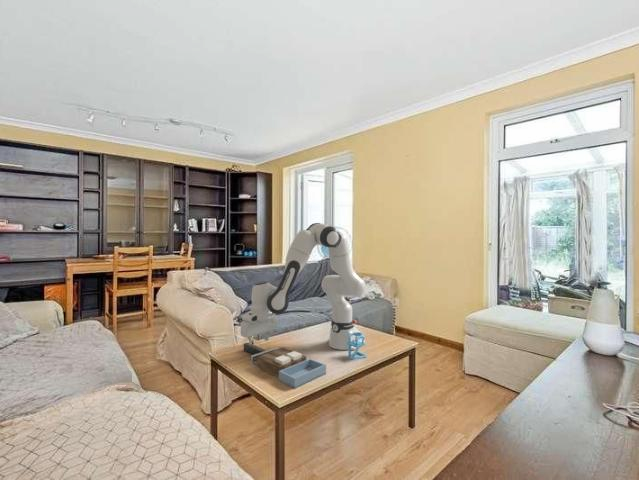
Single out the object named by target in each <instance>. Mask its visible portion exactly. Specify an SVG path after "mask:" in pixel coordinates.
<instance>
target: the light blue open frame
mask: <svg viewBox="0 0 639 480" xmlns="http://www.w3.org/2000/svg"><path fill="white" fill-rule="evenodd" d="M352 335H355V336H356V337H355V340H354V341H351V339H350V337H351V336H352ZM357 336H358V338H357ZM348 337H349V342H348V343H347V344H348V345H349V350H348V357H347V358H348V359H349V358H351V360H352V359H353V360H359V359H365V358H364V357H366V358H368V355H367V354H365V353H362V352H359V350H360V348H362V347H364V346H366V342H365V343H364V340H365V338H366V336H365V335H364V334H363V333H361V332H360V333H359V332H357V333H351V334H350V335H349V336H348ZM360 338H361V339H362V342H360V341H358V340H359V339H360ZM351 346H353V347H355V348H356V350H354V351H353V352H352V350H351ZM357 354H358V355H357ZM358 358H359V359H358Z"/></svg>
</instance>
